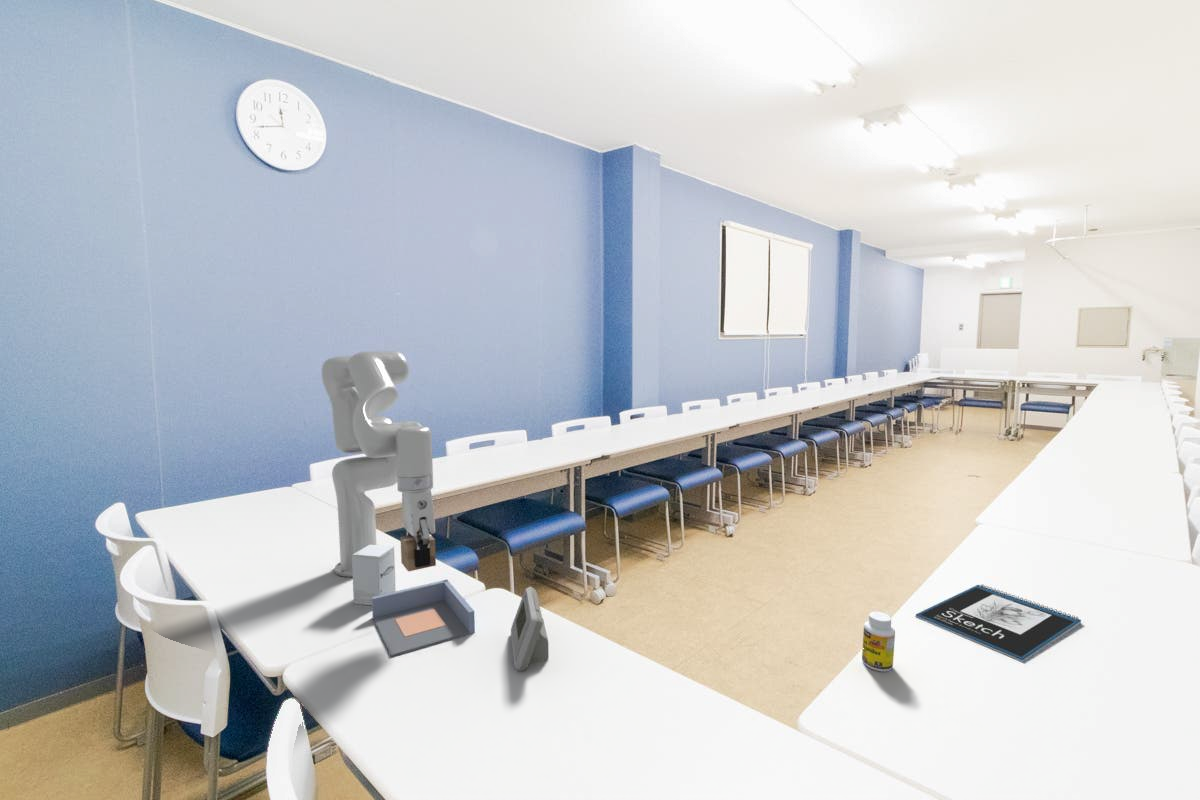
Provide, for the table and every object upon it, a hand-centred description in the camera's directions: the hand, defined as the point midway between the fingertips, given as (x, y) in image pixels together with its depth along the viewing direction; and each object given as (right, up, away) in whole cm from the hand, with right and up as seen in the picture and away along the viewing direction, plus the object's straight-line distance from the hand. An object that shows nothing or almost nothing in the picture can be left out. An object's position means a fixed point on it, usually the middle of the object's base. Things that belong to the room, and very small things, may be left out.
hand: (418, 560), depth 124 cm
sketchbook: (+133, -16, +5) cm, 134 cm away
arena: (0, -15, +1) cm, 15 cm away
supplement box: (-16, -14, +15) cm, 26 cm away
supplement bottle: (+96, -17, -13) cm, 99 cm away
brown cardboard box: (0, -1, 0) cm, 1 cm away
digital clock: (+25, -17, -8) cm, 31 cm away
